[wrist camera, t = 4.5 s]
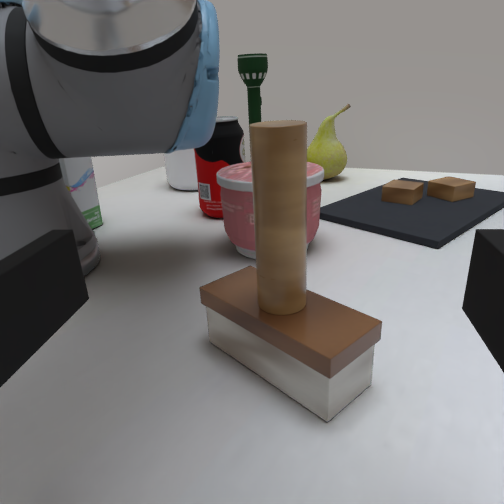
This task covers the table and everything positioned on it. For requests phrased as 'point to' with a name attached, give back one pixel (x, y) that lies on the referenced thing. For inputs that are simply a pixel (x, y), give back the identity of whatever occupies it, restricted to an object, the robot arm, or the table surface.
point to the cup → (181, 169)
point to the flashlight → (253, 81)
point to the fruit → (328, 148)
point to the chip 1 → (402, 192)
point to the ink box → (82, 187)
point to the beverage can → (218, 162)
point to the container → (241, 204)
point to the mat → (414, 215)
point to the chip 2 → (451, 188)
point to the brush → (288, 291)
